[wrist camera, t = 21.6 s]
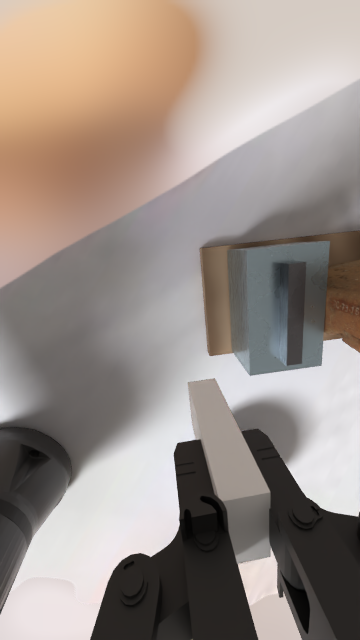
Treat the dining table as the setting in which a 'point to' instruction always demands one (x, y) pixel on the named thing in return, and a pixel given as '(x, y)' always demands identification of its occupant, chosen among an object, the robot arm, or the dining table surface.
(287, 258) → the block
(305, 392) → the dining table surface
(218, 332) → the vise base
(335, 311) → the block
